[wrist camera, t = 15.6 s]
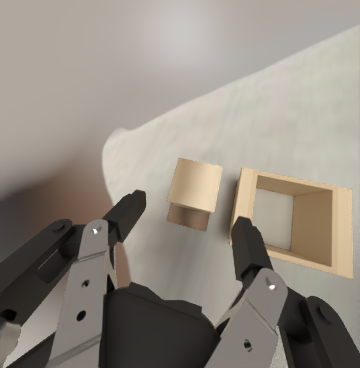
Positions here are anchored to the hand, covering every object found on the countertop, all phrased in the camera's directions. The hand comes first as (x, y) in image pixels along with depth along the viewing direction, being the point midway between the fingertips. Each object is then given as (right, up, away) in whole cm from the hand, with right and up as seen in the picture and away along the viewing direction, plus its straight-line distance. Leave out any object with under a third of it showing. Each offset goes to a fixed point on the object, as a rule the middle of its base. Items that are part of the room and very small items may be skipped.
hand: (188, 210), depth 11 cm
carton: (+18, -5, +18) cm, 26 cm away
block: (+2, -1, +18) cm, 18 cm away
